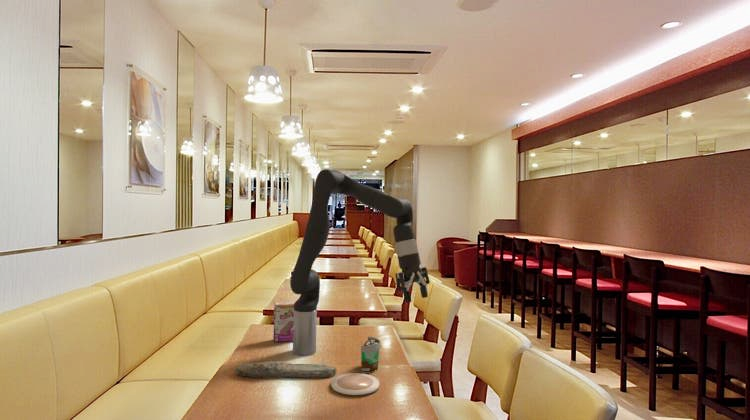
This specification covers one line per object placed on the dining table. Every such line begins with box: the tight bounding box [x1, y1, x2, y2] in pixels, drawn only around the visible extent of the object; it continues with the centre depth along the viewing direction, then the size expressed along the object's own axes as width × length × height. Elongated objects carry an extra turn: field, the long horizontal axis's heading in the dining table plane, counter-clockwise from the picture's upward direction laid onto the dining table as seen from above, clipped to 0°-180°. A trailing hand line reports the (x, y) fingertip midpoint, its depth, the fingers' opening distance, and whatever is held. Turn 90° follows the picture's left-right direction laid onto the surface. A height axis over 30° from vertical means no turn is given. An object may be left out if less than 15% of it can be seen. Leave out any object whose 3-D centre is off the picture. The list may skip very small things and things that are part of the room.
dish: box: [330, 372, 380, 396], centre depth 147 cm, size 16×16×2 cm
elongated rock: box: [235, 360, 337, 379], centre depth 157 cm, size 35×5×10 cm
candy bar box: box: [272, 301, 296, 343], centre depth 195 cm, size 11×5×16 cm, turn 106°
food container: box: [360, 336, 382, 373], centre depth 163 cm, size 12×6×10 cm, turn 168°
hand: (416, 299), depth 153 cm, fingers open, 8 cm apart
